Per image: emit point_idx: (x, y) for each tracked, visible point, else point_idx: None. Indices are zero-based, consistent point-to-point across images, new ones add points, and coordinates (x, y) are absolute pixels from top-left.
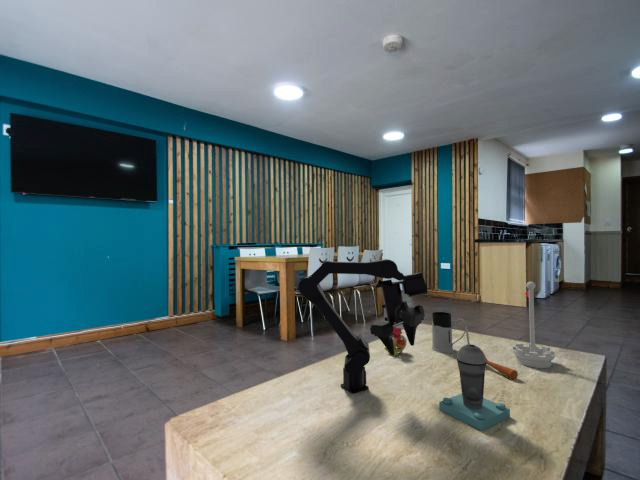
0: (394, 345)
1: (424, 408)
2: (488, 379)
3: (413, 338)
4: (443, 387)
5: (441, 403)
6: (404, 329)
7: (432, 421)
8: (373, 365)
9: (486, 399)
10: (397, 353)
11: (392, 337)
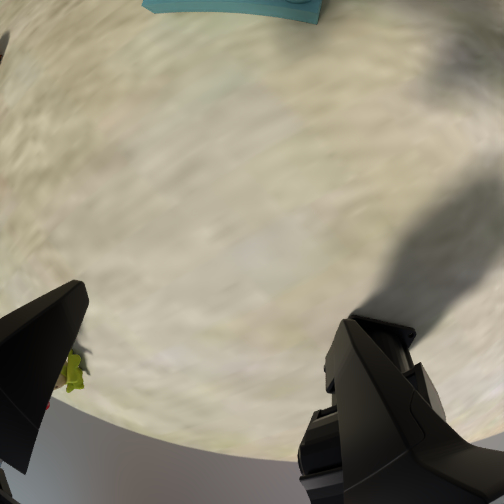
0: (60, 374)
1: (353, 67)
2: (17, 81)
3: (39, 309)
4: (128, 113)
5: (319, 5)
6: (39, 423)
7: (411, 19)
8: (171, 380)
9: None
10: (69, 353)
11: (435, 463)
